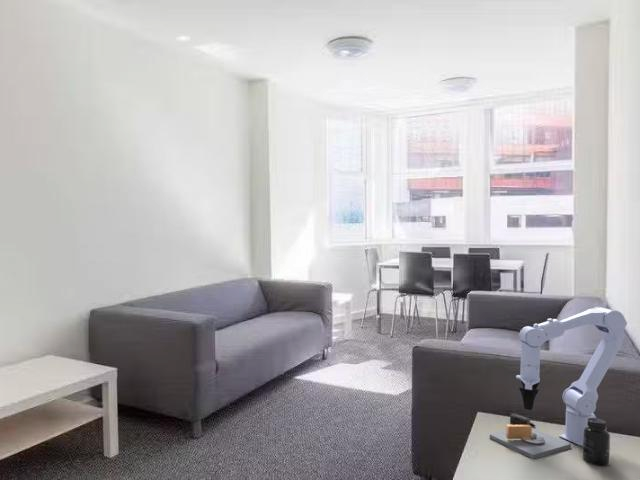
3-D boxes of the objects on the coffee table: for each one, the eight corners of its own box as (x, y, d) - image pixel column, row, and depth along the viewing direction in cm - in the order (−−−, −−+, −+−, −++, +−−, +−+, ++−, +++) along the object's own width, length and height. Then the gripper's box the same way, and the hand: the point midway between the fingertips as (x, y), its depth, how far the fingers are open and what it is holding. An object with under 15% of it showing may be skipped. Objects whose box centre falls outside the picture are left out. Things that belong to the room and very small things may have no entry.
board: (526, 428, 163) (526, 424, 163) (570, 447, 149) (571, 442, 149) (489, 438, 154) (489, 433, 154) (532, 458, 140) (533, 453, 140)
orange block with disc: (537, 434, 154) (537, 421, 154) (549, 444, 147) (549, 430, 147) (502, 434, 153) (502, 421, 153) (512, 444, 146) (512, 430, 146)
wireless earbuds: (528, 430, 162) (528, 421, 162) (509, 423, 167) (509, 414, 167) (535, 427, 164) (536, 418, 164) (516, 421, 170) (517, 412, 170)
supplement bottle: (613, 468, 136) (614, 426, 136) (587, 465, 137) (588, 423, 137) (603, 457, 142) (605, 417, 142) (579, 454, 144) (580, 415, 144)
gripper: (518, 357, 164) (517, 397, 164) (515, 367, 151) (513, 410, 151) (540, 360, 160) (539, 400, 160) (539, 370, 147) (538, 414, 147)
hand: (528, 405), depth 155 cm, fingers open, 7 cm apart
